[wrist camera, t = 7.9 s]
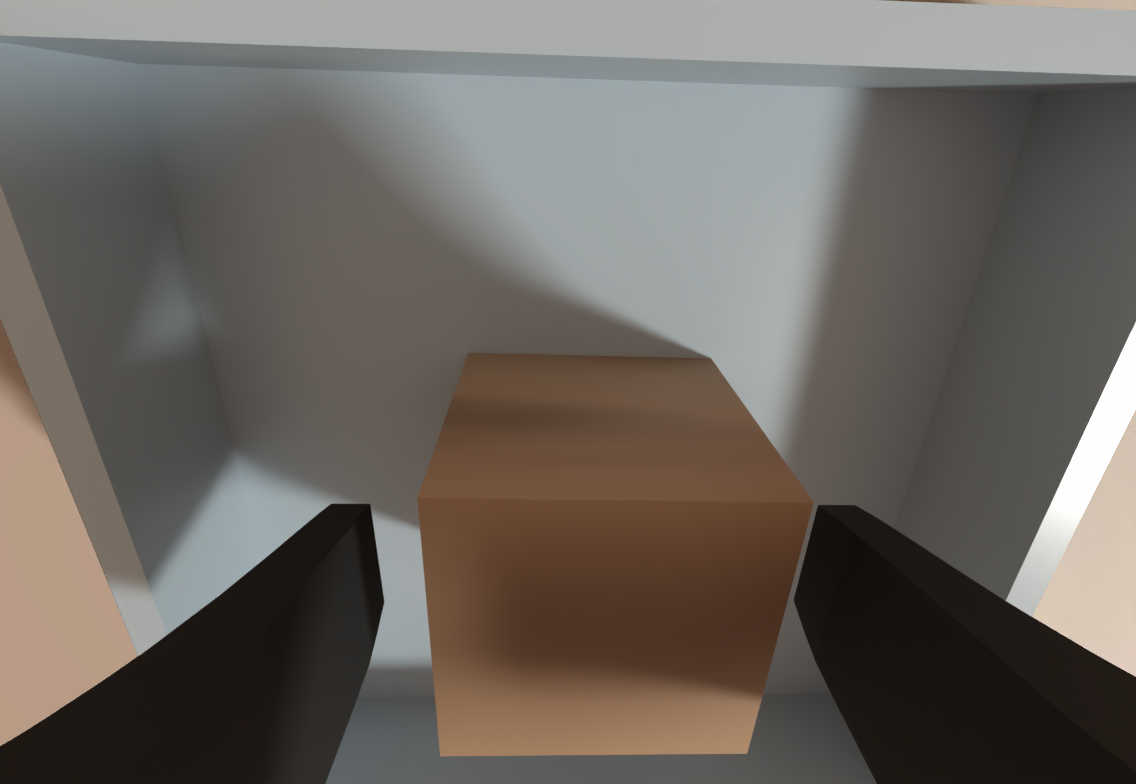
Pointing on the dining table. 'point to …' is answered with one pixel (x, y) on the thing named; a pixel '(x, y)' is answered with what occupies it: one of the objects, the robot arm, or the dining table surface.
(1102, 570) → the dining table surface
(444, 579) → the walnut block
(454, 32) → the tote
